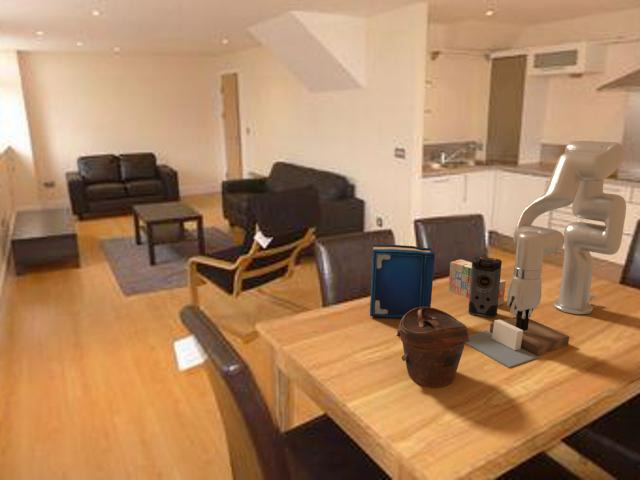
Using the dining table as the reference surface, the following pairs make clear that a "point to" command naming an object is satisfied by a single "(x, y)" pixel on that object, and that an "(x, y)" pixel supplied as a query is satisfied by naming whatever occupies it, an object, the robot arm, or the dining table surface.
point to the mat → (499, 350)
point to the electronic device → (484, 286)
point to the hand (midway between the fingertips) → (521, 328)
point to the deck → (539, 337)
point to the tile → (507, 334)
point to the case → (432, 345)
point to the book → (400, 279)
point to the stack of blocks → (467, 280)
